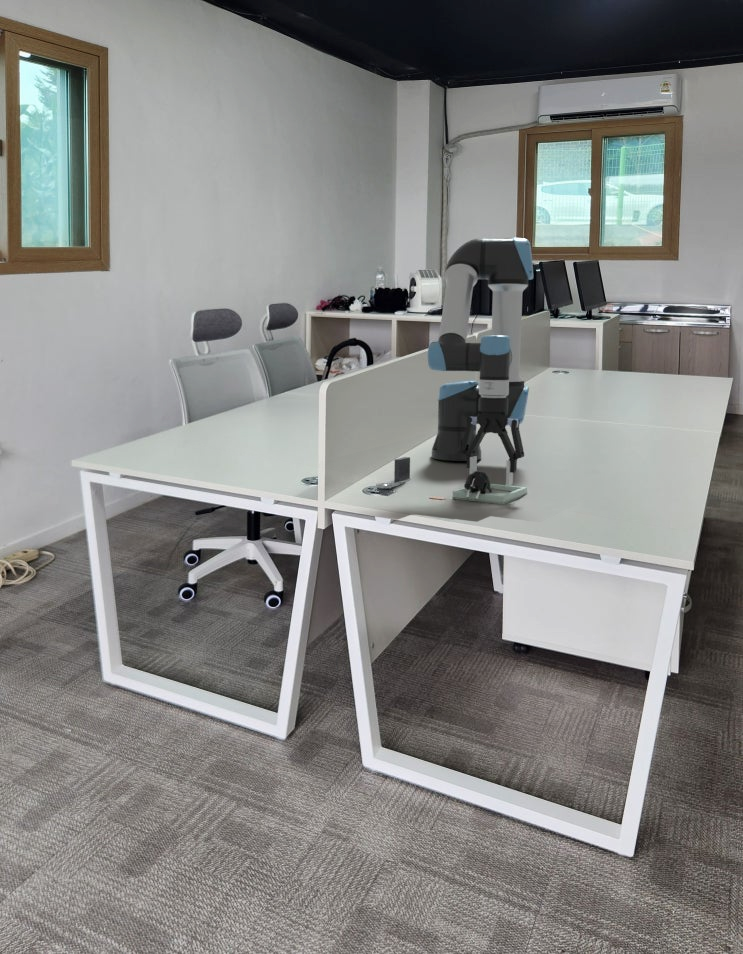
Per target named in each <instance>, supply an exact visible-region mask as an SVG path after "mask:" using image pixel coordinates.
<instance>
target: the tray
mask: <svg viewBox="0 0 743 954" xmlns="http://www.w3.org/2000/svg"><path fill="white" fill-rule="evenodd" d="M490 489H496V490H502V491H509V492H508V493H506V492H505V493H502V492H501V493H499V492H497V493H496V492H491V493H490V492H486V493H485V494H483V493H480V495H479V498H478V500H476V499H475V497H476V494H477V493H474V492H471V493H470V496H469V498H466V495H467V492H468V490H467V489H465V487H464V486H463V487H461V488H458V489H455V490H452V499H454V500H461V501H470V502H478V503H488V504H498V505H505V504H509V503H511V502H513V501H516V500H518V499H520V498H521V497H522V496H524V495H526V494H528V487H527V486H517V485H516V486H515V485H509V486H506V484H505V485H504V484H496V483H490Z"/></svg>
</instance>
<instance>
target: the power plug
mask: <svg viewBox="0 0 743 954" xmlns="http://www.w3.org/2000/svg"><path fill="white" fill-rule="evenodd" d="M490 484H491V483H490V480H489V476H488V475H487V474H486V472H484V471H475V472H474V473H472V474H470V473H469V474H468V475H467V477H466V479H465V482H464V486H463V487H465V489H467V490H468V492H467V495H466V498H469V496H470V493H471V492H474V493H477V494H476V497H475V499H476V500H478V498H479V495H480V493H483V494H485V493H487V490H488V493H493V490H492V488H490Z"/></svg>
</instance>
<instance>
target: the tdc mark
mask: <svg viewBox="0 0 743 954" xmlns="http://www.w3.org/2000/svg"><path fill="white" fill-rule="evenodd" d="M429 499H432V500H439V501H440V500H441V501H445V500H446V498H443V497H435V496H430V497H429Z"/></svg>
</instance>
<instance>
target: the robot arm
mask: <svg viewBox="0 0 743 954" xmlns="http://www.w3.org/2000/svg"><path fill="white" fill-rule="evenodd" d="M533 279H534V265H533V256H532V247H531V242H530V240H529V239H527V238H522V237H501V238H498V237H494V238H480V237H479V238H474V239H471V240H468V241H467V242H464V243H463V244H462V245H461V246H459V248H457V249H456V250H455V251H454V253H453V254H452V255H451V256H450V258H449V260H448V262H447V264H446V267H445V272H444V280H445V283H446V287H445V292H444V293H445V294H444V299H443V307H442V314H441V319H440V326H439V332H438V341H435V342H430V343H429V345H428V348H427V365H428V367H429V369H430V370H432V371H438V372H439V371H441V372H479V379H478V380H479V382H478V380H464V381H463V380H462V381H456V382H447V383H443V384H442V385H440V387H439V389H438V398H437V401H438V408H437V409H438V411H437V412H438V413H437V415H438V417H437V434H436V437H435V440H434V443H433V444H432V449H431V458H433V459H435V460H439V461H452V462H453V461H456V462H458V461H459V462H466V469H469V475H470V474H472V473H474V472H475V471H477V469H478V468H477V467H478V466H477V465H478V464H477V463H478V461H479V460H481V459H482V449H481V446H480V444H481V443H482V441H483V439H484V438H485V436H486V435H487V434H488V433H489V434H490V433H493V434H497V435H498V437H499V438H500V440H501V443H502V445H503V447H504V449H505V451H506V454H507V455H508V459H507V460H506V465H505V466H506V473H505V475H506V476H505V485H506V486H513V484H514V482H513V481H514V473H516V472H517V465H518V462H517V461H518V460H519V459H522V458H524V457H525V452H524V447H523V442H522V436H521V432H520V425H521V424H522V423H523V421H524V418H525V414H526V411H527V410H526V409H527V404H528V398H529V392H530V386H528V385H525V379H524V378H523V377H522V376H521V374H520V373H521V371H520V369H521V348H522V347H521V345H522V341H521V340H522V339H521V338H522V319H523V318H522V315H523V292H524V291H525V290H526V289H527V288H528V287H529V280H533ZM478 280H487V287H488V288H489V289H490V290H491V291H492V306H491V307H492V309H491V313H492V314H491V335H490V334H488V335H485V334H484V335H483V336H481V338H480V342H467V337H468V331H469V330H468V329H469V322H470V314H471V305H472V298H473V292H474V291H473V290H474V287H475V285H476V284H477V283H478ZM477 425H479V428H478V430H477ZM506 426H509V427H510V432H511V436H512V440H511V439H510V437H509V434H508V431H507V428H506ZM512 442H513V444H512ZM477 472H478V471H477Z"/></svg>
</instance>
